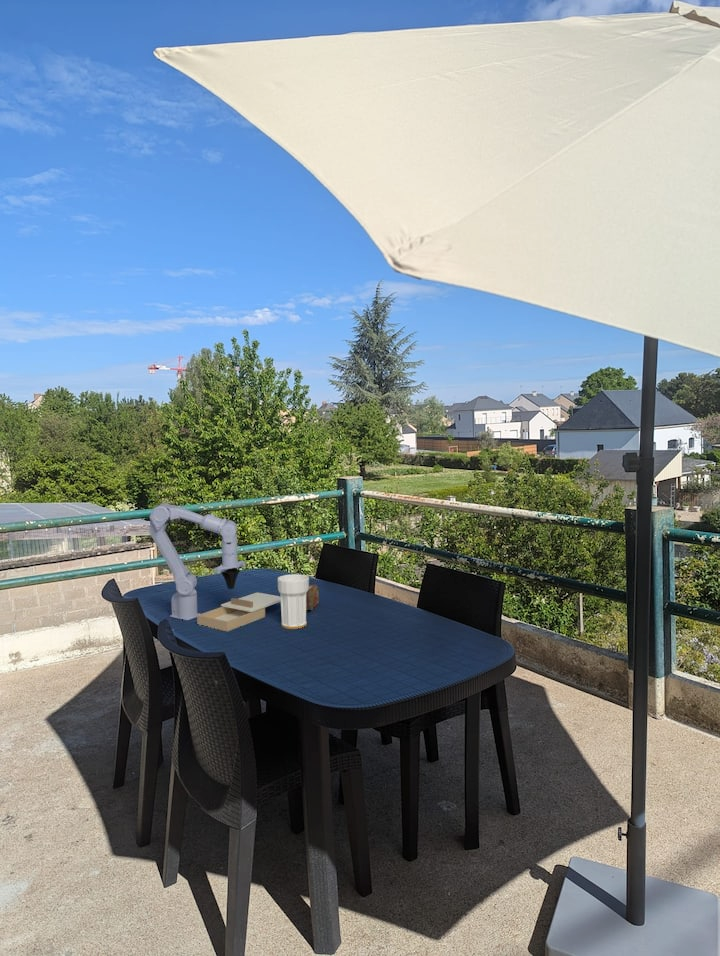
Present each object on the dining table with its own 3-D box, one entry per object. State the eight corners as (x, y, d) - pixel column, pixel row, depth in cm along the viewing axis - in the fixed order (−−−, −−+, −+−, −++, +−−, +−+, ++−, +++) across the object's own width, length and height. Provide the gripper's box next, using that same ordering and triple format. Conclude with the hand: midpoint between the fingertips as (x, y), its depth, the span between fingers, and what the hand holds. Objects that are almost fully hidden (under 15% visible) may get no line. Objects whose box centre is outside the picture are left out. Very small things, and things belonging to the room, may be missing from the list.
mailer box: (197, 624, 239) (197, 615, 239) (235, 610, 256) (235, 602, 256) (227, 631, 231) (227, 621, 231) (265, 616, 248) (264, 607, 247)
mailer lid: (221, 606, 249) (220, 599, 249) (257, 593, 266) (257, 587, 266) (251, 612, 241) (251, 605, 241) (287, 599, 258) (287, 592, 258)
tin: (310, 613, 252) (309, 591, 251) (302, 613, 253) (301, 591, 252) (320, 602, 267) (319, 582, 266) (312, 602, 267) (312, 581, 266)
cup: (271, 625, 237) (270, 578, 236) (295, 618, 246) (294, 572, 244) (292, 632, 230) (291, 583, 228) (316, 624, 238) (315, 577, 236)
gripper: (223, 557, 240) (224, 594, 241) (250, 550, 252) (251, 585, 253) (209, 555, 244) (211, 591, 245) (237, 549, 256) (238, 583, 257)
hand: (230, 588), depth 249 cm, fingers closed
